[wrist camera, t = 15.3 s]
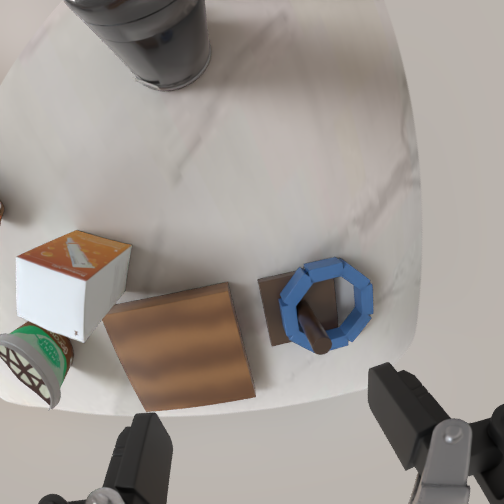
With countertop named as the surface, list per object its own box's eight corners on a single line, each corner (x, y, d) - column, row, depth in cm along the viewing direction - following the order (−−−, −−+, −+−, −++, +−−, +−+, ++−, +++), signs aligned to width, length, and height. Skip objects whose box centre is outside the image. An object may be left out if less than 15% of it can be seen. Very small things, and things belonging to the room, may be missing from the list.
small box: (133, 243, 34) (87, 280, 21) (125, 292, 35) (85, 345, 23) (75, 228, 33) (14, 255, 20) (70, 275, 34) (16, 317, 22)
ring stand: (257, 279, 36) (269, 317, 26) (329, 262, 36) (363, 293, 27) (270, 341, 39) (283, 391, 29) (335, 325, 39) (365, 368, 29)
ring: (273, 270, 35) (276, 277, 33) (362, 250, 35) (370, 255, 33) (287, 350, 38) (290, 360, 35) (366, 329, 38) (373, 337, 36)
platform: (108, 305, 36) (100, 315, 33) (227, 281, 36) (228, 290, 33) (149, 398, 40) (146, 411, 37) (254, 383, 40) (256, 397, 37)
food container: (95, 352, 37) (69, 395, 27) (77, 372, 38) (51, 413, 28) (35, 292, 34) (-4, 322, 24) (20, 316, 35) (-15, 348, 25)
